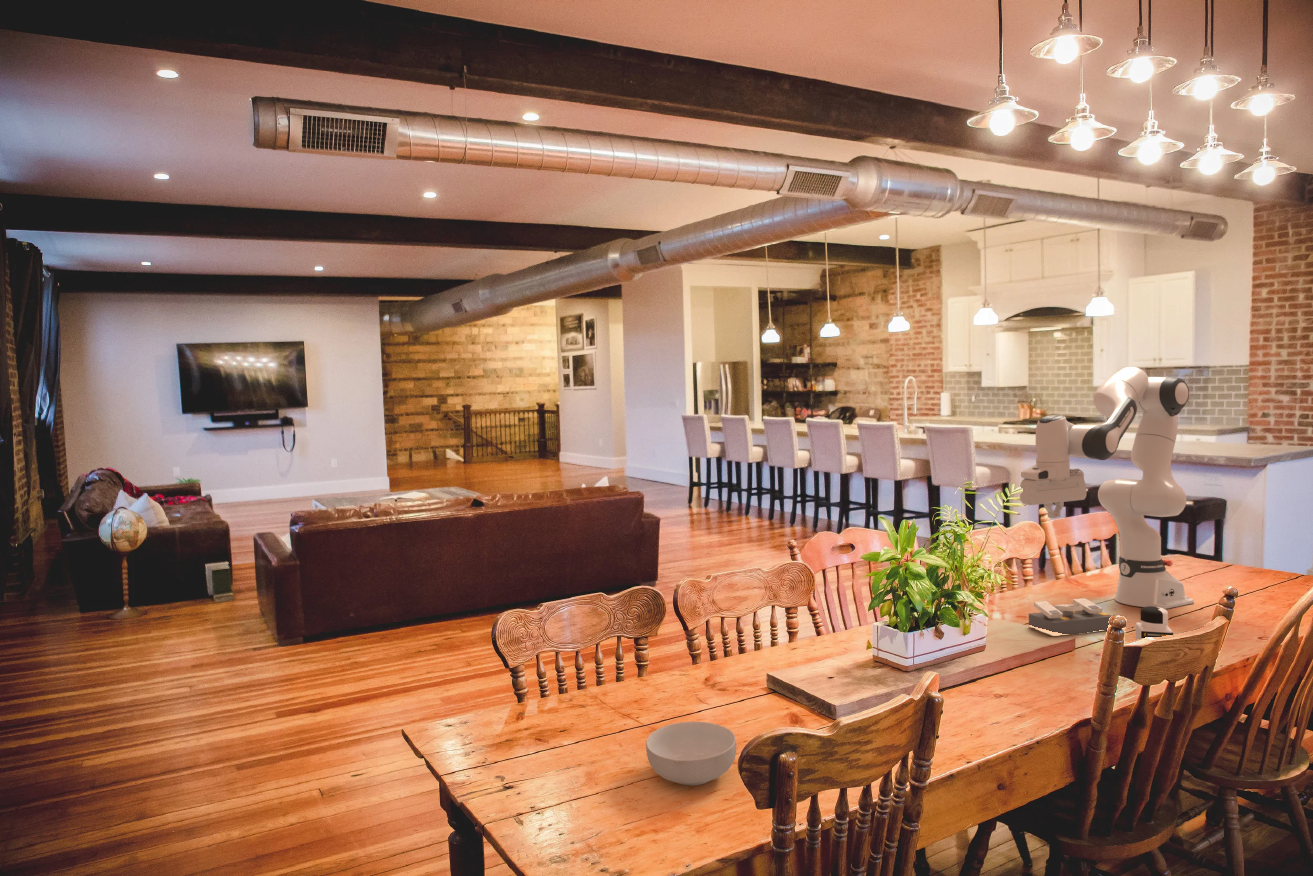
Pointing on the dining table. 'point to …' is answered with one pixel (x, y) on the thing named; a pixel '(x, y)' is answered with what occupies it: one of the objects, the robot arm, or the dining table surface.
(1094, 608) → the rocker
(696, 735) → the cereal bowl
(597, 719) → the dining table surface
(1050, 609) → the rocker
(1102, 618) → the switch unit
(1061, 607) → the rocker
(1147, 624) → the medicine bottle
